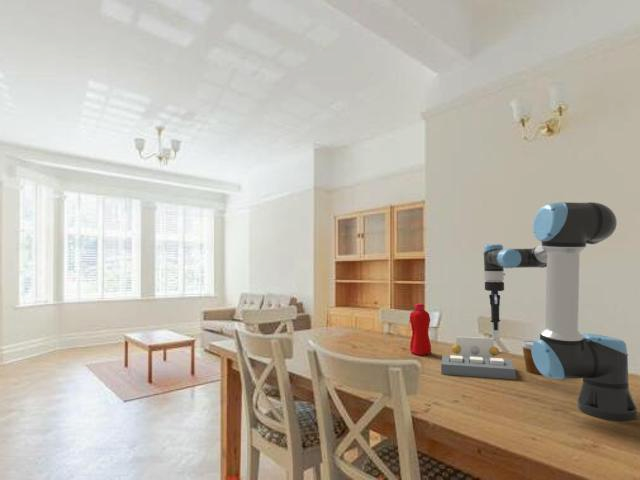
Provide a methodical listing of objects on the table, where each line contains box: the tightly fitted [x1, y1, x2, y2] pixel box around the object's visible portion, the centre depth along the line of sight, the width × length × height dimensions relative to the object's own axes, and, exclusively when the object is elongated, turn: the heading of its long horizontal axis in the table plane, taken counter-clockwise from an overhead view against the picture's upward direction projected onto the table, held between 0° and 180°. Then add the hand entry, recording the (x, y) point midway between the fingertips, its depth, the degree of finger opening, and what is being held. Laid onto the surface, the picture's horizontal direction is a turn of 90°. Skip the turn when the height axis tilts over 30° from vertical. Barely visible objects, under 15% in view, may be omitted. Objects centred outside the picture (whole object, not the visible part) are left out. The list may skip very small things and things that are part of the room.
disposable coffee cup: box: [521, 340, 542, 375], centre depth 169 cm, size 10×10×12 cm
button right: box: [490, 357, 504, 365], centre depth 168 cm, size 5×5×3 cm
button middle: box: [470, 356, 483, 364], centre depth 171 cm, size 5×5×3 cm
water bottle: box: [408, 303, 432, 356], centre depth 204 cm, size 9×11×25 cm
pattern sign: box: [451, 336, 500, 358], centre depth 186 cm, size 6×20×12 cm, turn 71°
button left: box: [449, 354, 463, 363], centre depth 173 cm, size 5×5×3 cm
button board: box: [440, 354, 517, 381], centre depth 171 cm, size 16×28×4 cm, turn 71°
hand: (495, 337), depth 169 cm, fingers closed
